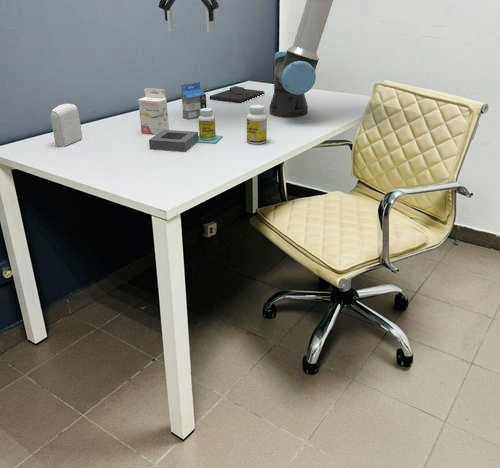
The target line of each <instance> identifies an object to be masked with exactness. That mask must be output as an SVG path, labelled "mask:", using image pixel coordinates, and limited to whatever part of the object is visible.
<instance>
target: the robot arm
mask: <svg viewBox="0 0 500 468" xmlns="http://www.w3.org/2000/svg"><path fill="white" fill-rule="evenodd" d="M175 1H176V0H159V4H158V9H162V10H163V11H164V20H165V21H166V22H167V28H168V29H167V30H168V31H167V32H169V33H171V32H175V31H174V21H173V20H174V19H173V17H174V16H173V10H172V9H171V8H172V7H173V5H174V3H175ZM200 1H201V3H202V4H203V5H204V6H205V7H206V9H207V10H206V11H205V20H206V22H205V23H206V33H212V22H214V21H215V16H214V13H215V12H214V11H215V10H217V9H218V8H220V4H219V3H218V1H217V0H200ZM333 3H334V0H306V1H305V5H304V8H303V11H302V15H301V19H300V22H299V24H298V28H297V31H296V34H295V38H294V41H293V44H292V46H290V47H288V48H287V49H286V51H276V52H275V53H274V59H273V63H274V70H273V72H274V74H273V75H274V81H273V83H274V84H273V96H272V99H271V101H270V104H269V111H268V113H269V114H270V115H272V116H275V117H282V118H296V117H303V116H306V115H307V114H308V113H309V107H308V102H307V100H306V95H305V94H306V93H307V92H309V91H310V90H311V89H312V88H313V87H314V85H315V83H316V77H317V76H316V75H317V74H316V68H317V66H318V63H319V59H320V58H319V57H318V55H317V53H318V52H317V51H318V48H319V45H320V42H321V40H322V37H323V35H324V34H323V33H324V32H325V31H324V30H325V27H326V24H327V21H328V18H329V15H330V12H331V8H332V6H333Z"/></svg>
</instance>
